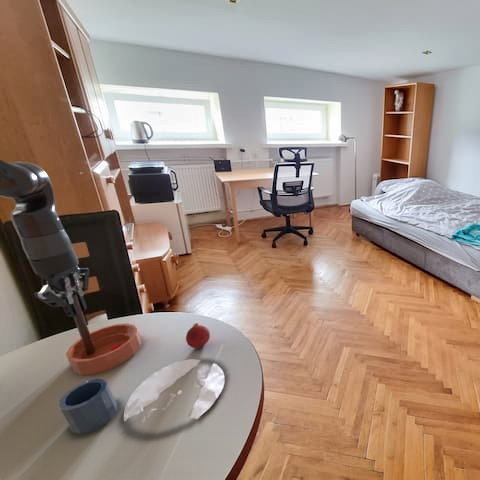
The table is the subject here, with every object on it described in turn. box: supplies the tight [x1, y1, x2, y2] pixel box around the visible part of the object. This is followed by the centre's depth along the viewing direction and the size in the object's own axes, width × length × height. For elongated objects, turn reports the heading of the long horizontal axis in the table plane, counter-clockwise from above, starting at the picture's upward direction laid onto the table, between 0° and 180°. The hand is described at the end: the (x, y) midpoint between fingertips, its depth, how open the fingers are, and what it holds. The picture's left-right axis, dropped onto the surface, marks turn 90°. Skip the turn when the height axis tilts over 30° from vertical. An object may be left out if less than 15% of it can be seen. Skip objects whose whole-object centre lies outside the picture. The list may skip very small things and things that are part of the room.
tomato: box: [111, 344, 122, 351], centre depth 78 cm, size 3×3×3 cm
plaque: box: [123, 358, 226, 423], centre depth 67 cm, size 20×20×2 cm
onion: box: [185, 322, 211, 349], centre depth 80 cm, size 6×6×8 cm
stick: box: [72, 294, 96, 355], centre depth 74 cm, size 2×2×18 cm
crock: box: [57, 378, 118, 435], centre depth 60 cm, size 7×8×8 cm
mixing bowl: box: [65, 323, 143, 376], centre depth 78 cm, size 15×15×5 cm
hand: (77, 312), depth 73 cm, fingers closed on stick, 2 cm apart
